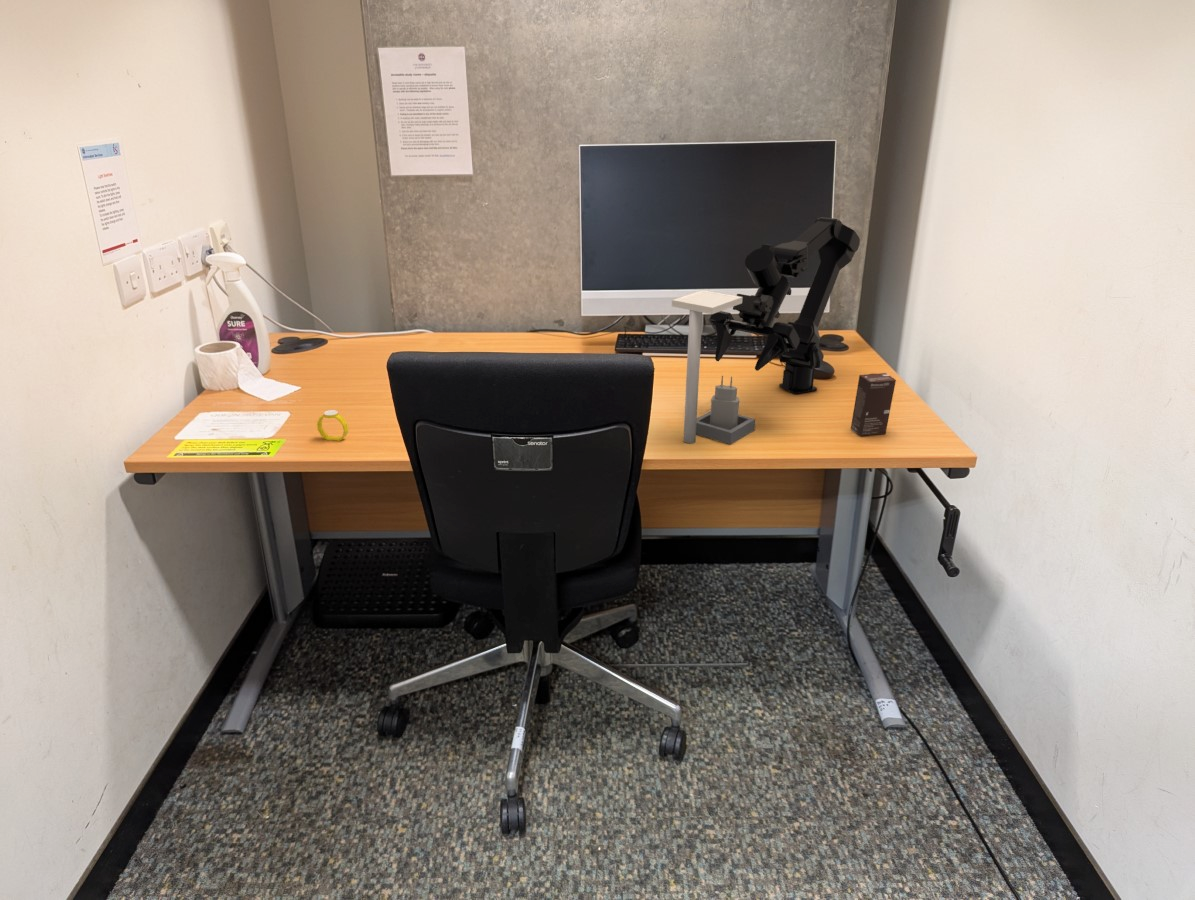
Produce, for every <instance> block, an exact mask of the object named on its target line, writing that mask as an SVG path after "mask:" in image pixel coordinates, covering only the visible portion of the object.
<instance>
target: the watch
mask: <svg viewBox="0 0 1195 900" xmlns="http://www.w3.org/2000/svg"><path fill="white" fill-rule="evenodd" d="M324 418H327V419H336V420H338V421H339V423H340V424H341V426H342V429H343V434H342V436H330V435H329V434H328V433H326V432H325V430H324V427H323V420H324ZM316 423H317V424H316V426H317V431H318V433H319V435H320V436H321V438H323V439H324V440H326V441H336V442H341V441H342V440H343V439H344V438H345V437H346V436H347V435H348V432H349V425H348V422H347V421H346V419H345V418H344V417H343V416H342V415H341V414H339V411H338V410H334V409H330V410H326V411H324V412H323V414H322V415H321V416H319V418H318V420H317V422H316Z"/></svg>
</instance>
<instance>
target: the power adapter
mask: <svg viewBox="0 0 1195 900" xmlns="http://www.w3.org/2000/svg"><path fill="white" fill-rule="evenodd" d="M729 381H730V383H729V385H724V375H721V382H720V384H719V385H715V388H714V389H715V390H714V395H712V397H711V400H710V402H711V404H710V411H711V414H710V425H713V426H717V427H720V428H724V429H727V430H731V429H733V428H734V427H736V426H737V425H738V414H739V412H740V411H739V409H740V398H739V397H738V396H737V393H738V388H737V387H736V386H733V376H730V380H729Z"/></svg>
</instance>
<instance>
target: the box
mask: <svg viewBox="0 0 1195 900" xmlns="http://www.w3.org/2000/svg"><path fill="white" fill-rule="evenodd" d="M896 382H897V380H896V378H894V377H892V376H891V375H889V374H888V373H886V372H883V373H882V372H881V373H869V374H867V373H866V374H860V375H859V377H858V382H857V389H856V393H855V401H854V407H853V412H852V419H851V425H850V429H851V431H852V432H854V433H855V434H857V435H858V436H860V437H865V436H875V435H885V434H887V429H888V428H887V427H888V423H889V418H890V413H891V407H892V401H893V397H894V392H895V388H896V387H895V386H896Z"/></svg>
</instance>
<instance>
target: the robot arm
mask: <svg viewBox="0 0 1195 900" xmlns="http://www.w3.org/2000/svg"><path fill="white" fill-rule="evenodd" d="M860 242H861V239H860V236H859V235H858V233H857V232H856V230H854V229H853V228H852V227H851V228H850V227H849V226H847V225H845V224H844V223H842V221H841V220H839V219H838V218H832V217H824V216H822V217H817V218H816V219H815V221H814V223H813V224H811V226H810V227H808V228H807V229H806V230H805V231H804V232H802V234H800V235H798V237H797V238H795V239H793V240H792V241H789V242H783V243H780V244H777V245H776V246H774V247H773V245H772V244H767V243H763V244H762V245H761V246H760V247H759V248H756V249H754V250H752V251H751V252H750V253H749V254H747V255H746V256H745V260H744V266H745V268H746V269H747V271H748V274H749V276H750V278H751V280H752V281H753V283H754V285H756V286H757V287H758V288H757V290H756V293H755V294H751V295H748V294H741V293H736V296H740V297H743V298H742V303H741V304H739V305H736V306H733V307H732V310H734V311H738V312H739V313H738V314H737V315H738V317H739V318H740V319H742V320H741V321H740V320H736V319H734V316H733V315H732V314H731V312H728V311H724V310H723V311H720V312H717V313H714V314H709V317H708V319H707V321H708V323H710V325H711V327H712V328H713V330H714V332H715V333H716V346H715V347H716V348H715V354H714V355H715V357H714V359H715V361H716V362H719V361H720V360H721V359H722V358H723V356H724V355H725V353H726V351H727V350H728V348H729V346H730V345H731V343H732V341H733V340H734V338H733V337H732V336H734V335H735V334H736V332H737V331H739V332H742V333H748V334H752V335H757V336H762V337H767V339H766V344H765V345H764V347H763V349H762V352H760V355H759V357H758V359H757V361H756V364H755V367H754V370H755V371H759V370H762V368H763V367H765V366H766V365H768V363H770V362H771V361H773V360H774V359H776V358H777V357H778V358H779V359H778V360H779V363H785V366H784V369H783V373H782V374H783V375H782V382H781V383H779V384H778V387H780V388H782V389H784V390H786V391H788V392H789V393H792V394H794V395H799V394H804V393H811V392H815V391H818V387H816V386H814V380H815V372H816V369H820V368H821V367H822V365H823V361H824V356H825V355H824V353H823V350H822V349H821V347H820V343H821V338H820V332H819V325H820V323H821V320H822V317H823V314H824V312H825V310H826V307H827V305H828V301H829V299H830V297H831V294H832V291H833V288H834V287H835V285H836V284H835V283H836V281H837V279H838V275H839V274H840V271H841V270H842V269H843V268H845V267H846V266H847V265H848V264H849V263H851V261H852V260H853V257H854V256H855V253H856V252H857V251H858V249H859V247H860ZM816 252H818V256H819V264H818V266H817V268H816V271H815V275H814V277H813V280H812V282H811V285H810V287H809V289H808V292H807V295H806V297H805V300H804V303H803V305H802V308H801V310H800V313H799V316H798V318H797V319H796V320H794V321H793V322H790V321H788V322H787V323H785V322H780V321H776V322H774V320H775V319H779V317H780V316H781V313H780V311H779V310H780V308H781V306H782V304H783V302H784V300H785V298H786V296H791V295H792V288H791V283H790V281H789V280H788V278H787V277H790V278H795V279H797V278H800V277H801V276H802V275H803V274H804V272H805V271H806V269H808V267H809V264H808V263H809V259H810V258H811V257H812V256H813V255H814V254H816ZM773 322H774V323H773ZM772 324H773V326H772Z"/></svg>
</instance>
